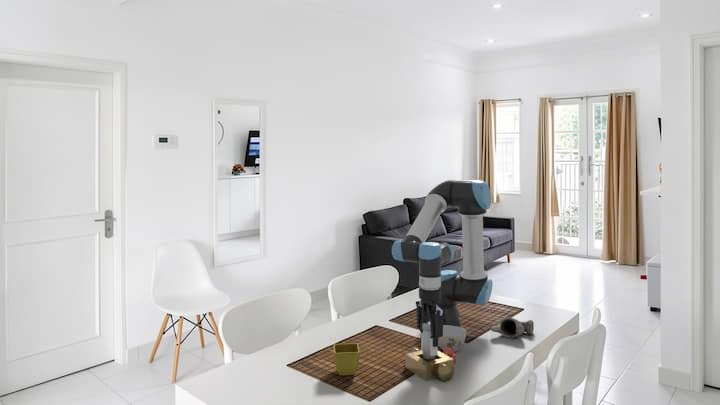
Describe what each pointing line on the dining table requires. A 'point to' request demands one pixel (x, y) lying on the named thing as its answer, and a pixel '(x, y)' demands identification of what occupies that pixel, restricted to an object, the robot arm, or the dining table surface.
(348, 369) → the flower pot
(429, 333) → the white capped shaker
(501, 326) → the grey hollow piece
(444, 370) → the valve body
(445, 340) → the teacup
